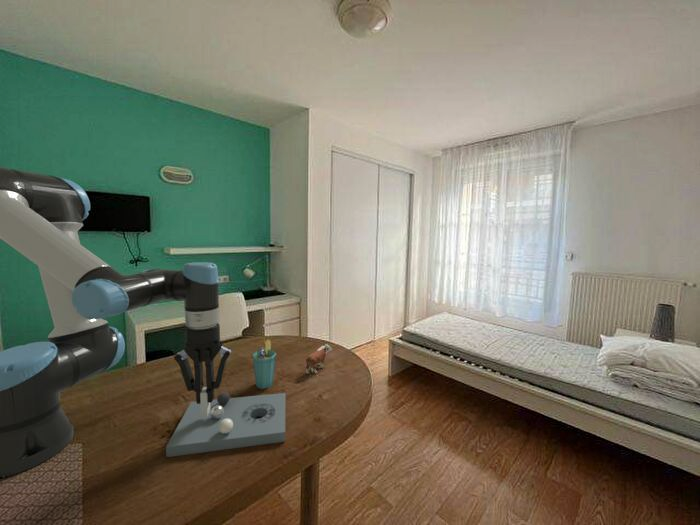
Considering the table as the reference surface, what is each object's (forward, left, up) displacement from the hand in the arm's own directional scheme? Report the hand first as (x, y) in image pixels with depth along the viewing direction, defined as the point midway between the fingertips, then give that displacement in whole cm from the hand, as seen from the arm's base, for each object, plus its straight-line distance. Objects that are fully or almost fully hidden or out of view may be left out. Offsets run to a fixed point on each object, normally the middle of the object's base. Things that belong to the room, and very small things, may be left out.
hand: (205, 413), depth 71 cm
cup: (+13, +18, -4) cm, 23 cm away
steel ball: (+3, 0, 0) cm, 3 cm away
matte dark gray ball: (+3, +6, 0) cm, 7 cm away
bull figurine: (+32, +27, -4) cm, 42 cm away
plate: (+7, 0, -4) cm, 8 cm away
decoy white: (+6, -6, 0) cm, 8 cm away
